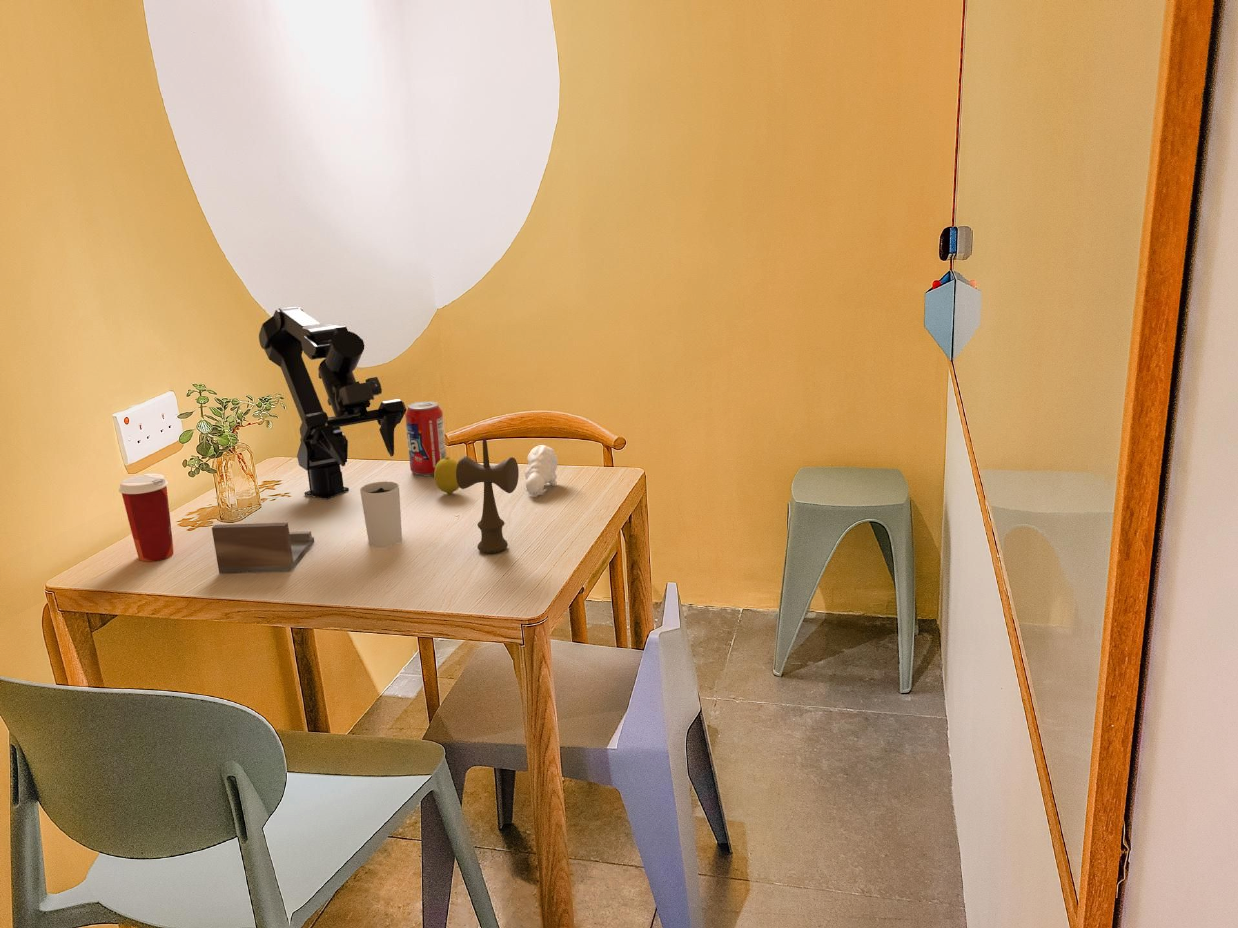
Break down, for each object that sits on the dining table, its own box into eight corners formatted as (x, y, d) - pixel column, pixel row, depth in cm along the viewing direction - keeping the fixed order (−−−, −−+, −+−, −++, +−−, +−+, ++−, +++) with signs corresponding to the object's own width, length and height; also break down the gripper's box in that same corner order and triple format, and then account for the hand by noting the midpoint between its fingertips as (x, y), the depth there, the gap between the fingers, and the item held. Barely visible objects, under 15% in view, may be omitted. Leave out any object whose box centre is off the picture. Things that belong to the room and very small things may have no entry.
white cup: (360, 540, 178) (353, 487, 175) (394, 531, 182) (389, 479, 179) (375, 550, 173) (369, 496, 170) (411, 541, 177) (405, 487, 174)
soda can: (450, 474, 214) (444, 406, 209) (413, 479, 211) (407, 410, 207) (444, 465, 221) (438, 398, 216) (408, 469, 218) (401, 402, 214)
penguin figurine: (558, 442, 204) (546, 464, 193) (561, 479, 207) (549, 503, 196) (528, 441, 205) (515, 464, 194) (532, 479, 208) (518, 502, 197)
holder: (247, 544, 178) (240, 501, 176) (314, 542, 178) (308, 499, 176) (219, 573, 166) (211, 527, 163) (291, 571, 165) (284, 525, 163)
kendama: (512, 558, 167) (504, 443, 162) (459, 554, 170) (450, 441, 164) (525, 545, 173) (518, 433, 167) (474, 541, 176) (465, 431, 170)
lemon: (466, 490, 203) (463, 452, 201) (460, 499, 198) (456, 460, 195) (440, 490, 204) (436, 452, 201) (432, 499, 198) (429, 460, 196)
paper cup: (189, 549, 176) (176, 474, 172) (157, 566, 169) (143, 487, 165) (154, 545, 179) (140, 471, 175) (121, 561, 172) (106, 484, 168)
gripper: (298, 371, 174) (326, 449, 169) (399, 356, 184) (428, 430, 179) (288, 402, 182) (314, 478, 178) (384, 387, 193) (412, 458, 188)
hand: (368, 460), depth 181 cm, fingers open, 9 cm apart
